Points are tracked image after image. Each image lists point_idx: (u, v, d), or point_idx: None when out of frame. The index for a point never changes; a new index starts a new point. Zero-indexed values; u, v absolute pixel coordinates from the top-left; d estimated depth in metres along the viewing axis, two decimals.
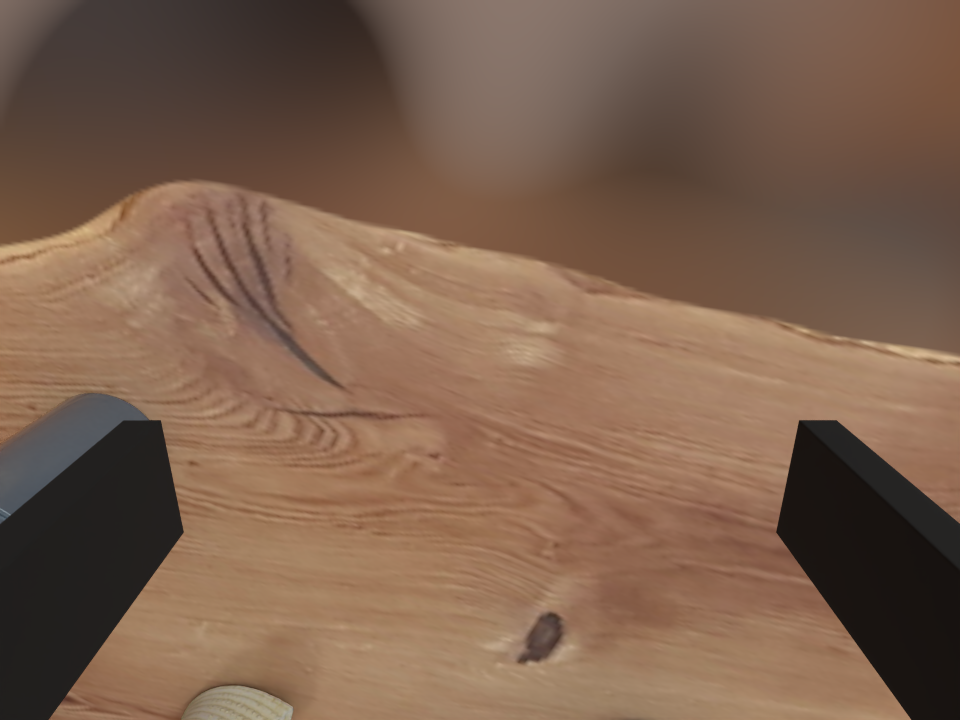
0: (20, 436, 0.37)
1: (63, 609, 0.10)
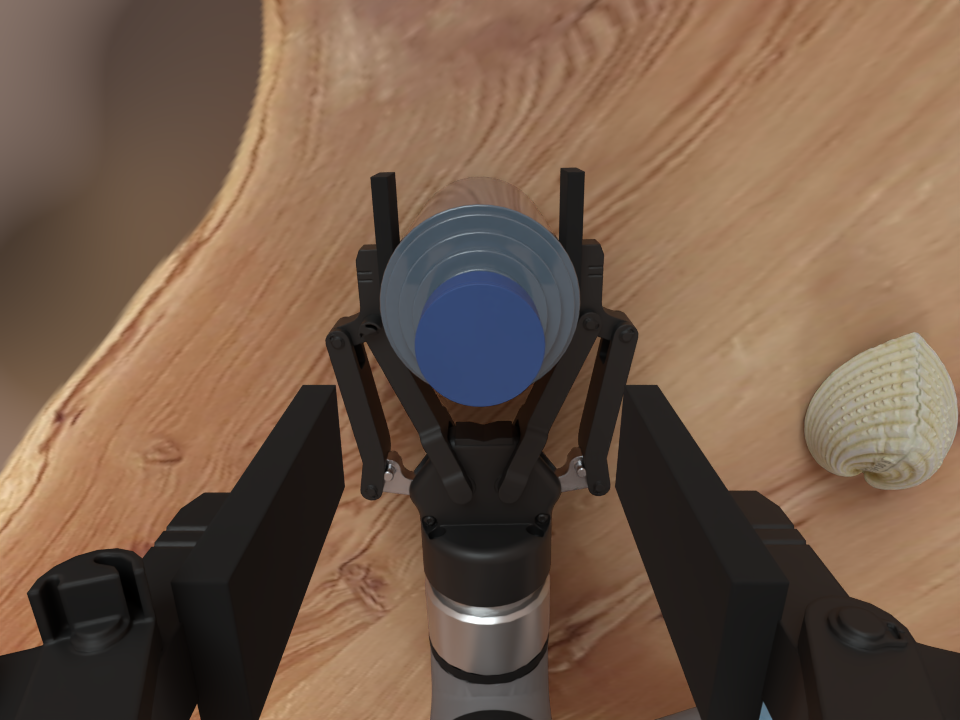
0: None
1: (297, 536, 0.11)
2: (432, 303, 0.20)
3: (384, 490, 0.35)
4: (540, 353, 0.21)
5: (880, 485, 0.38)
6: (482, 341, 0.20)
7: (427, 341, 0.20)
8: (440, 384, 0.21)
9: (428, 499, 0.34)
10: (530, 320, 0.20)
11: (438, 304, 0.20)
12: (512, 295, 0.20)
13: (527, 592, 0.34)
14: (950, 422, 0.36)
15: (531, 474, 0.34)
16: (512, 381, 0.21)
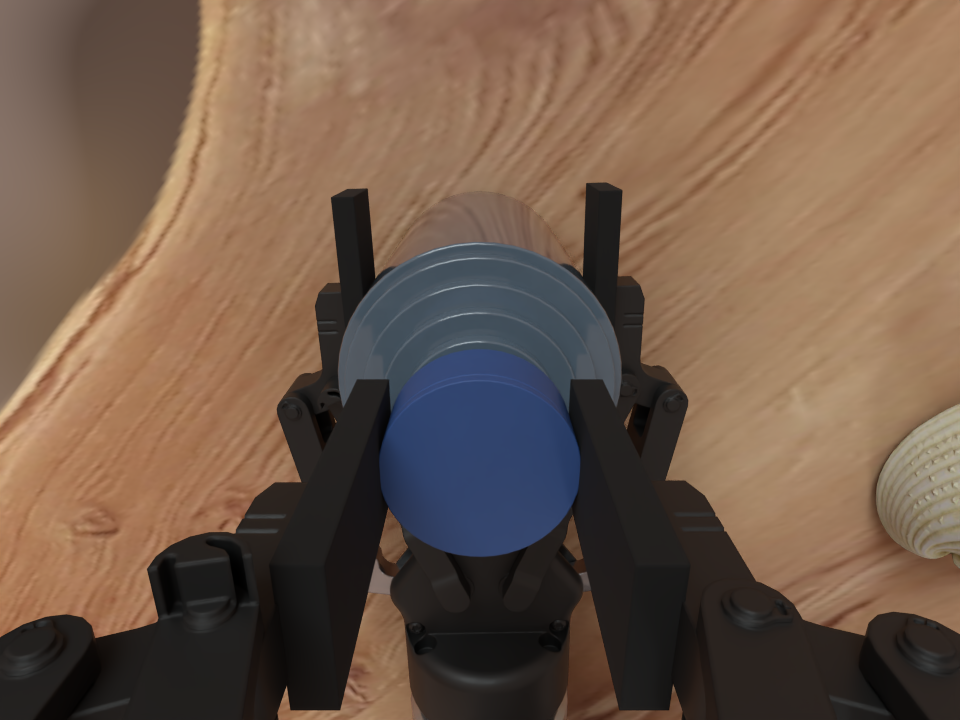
0: None
1: (366, 525, 0.12)
2: (404, 408, 0.13)
3: None
4: (573, 482, 0.13)
5: None
6: (483, 464, 0.13)
7: (397, 464, 0.13)
8: (418, 526, 0.14)
9: (414, 603, 0.27)
10: (559, 434, 0.13)
11: (414, 410, 0.13)
12: (531, 397, 0.13)
13: None
14: None
15: (545, 573, 0.26)
16: (529, 522, 0.14)
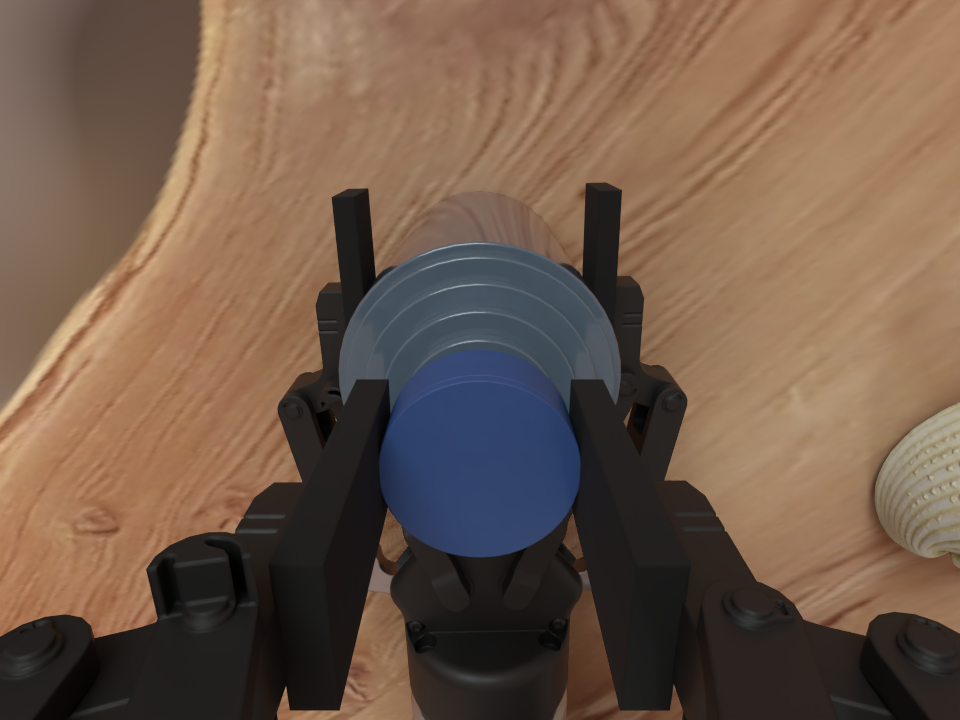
0: None
1: (365, 526, 0.12)
2: (413, 534, 0.14)
3: None
4: (488, 387, 0.12)
5: None
6: (469, 471, 0.13)
7: (471, 542, 0.14)
8: (540, 526, 0.14)
9: (414, 601, 0.27)
10: (431, 405, 0.13)
11: (414, 528, 0.14)
12: (393, 431, 0.13)
13: None
14: None
15: (545, 572, 0.26)
16: (537, 427, 0.13)
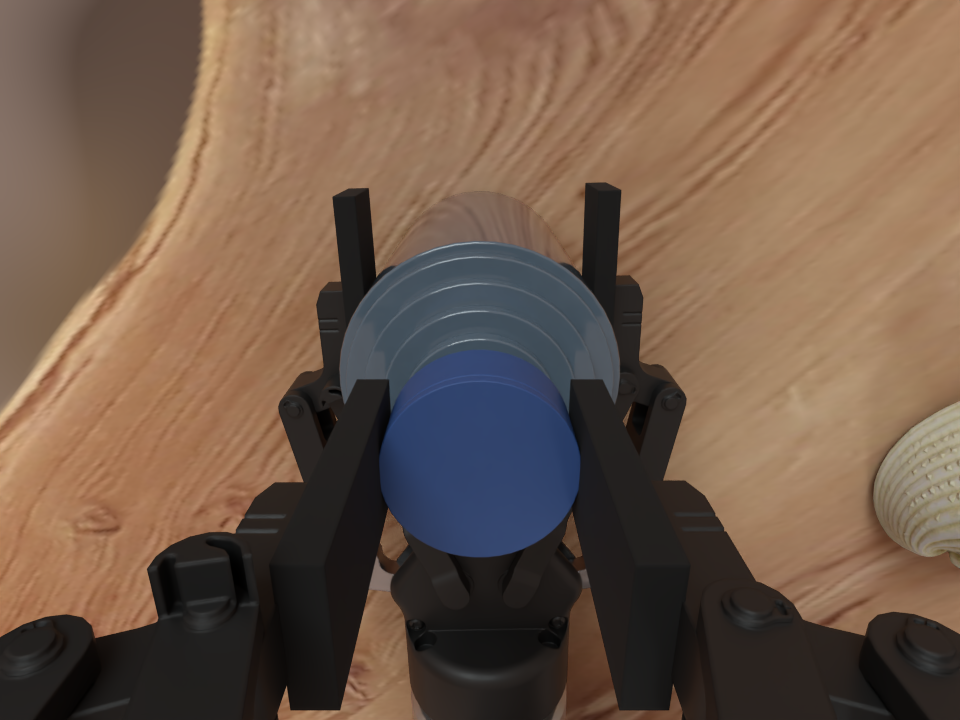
0: None
1: (366, 525, 0.12)
2: (551, 529, 0.14)
3: None
4: (384, 469, 0.13)
5: None
6: (476, 483, 0.13)
7: (561, 479, 0.13)
8: (542, 416, 0.13)
9: (414, 600, 0.27)
10: (406, 514, 0.14)
11: (543, 529, 0.14)
12: (436, 544, 0.14)
13: (539, 718, 0.27)
14: None
15: (544, 570, 0.26)
16: (423, 425, 0.13)
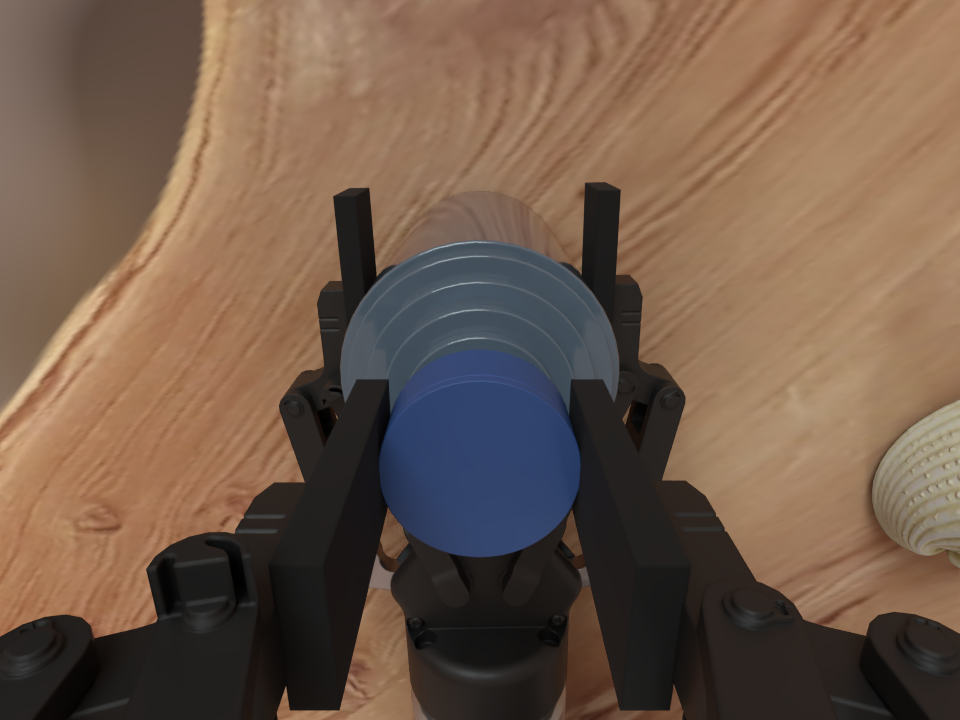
0: None
1: (365, 526, 0.12)
2: (548, 403, 0.13)
3: None
4: (476, 552, 0.14)
5: None
6: (490, 476, 0.13)
7: (484, 399, 0.13)
8: (411, 422, 0.13)
9: (414, 598, 0.27)
10: (527, 536, 0.14)
11: (547, 413, 0.13)
12: (563, 510, 0.14)
13: (539, 716, 0.27)
14: None
15: (544, 568, 0.26)
16: (427, 520, 0.14)
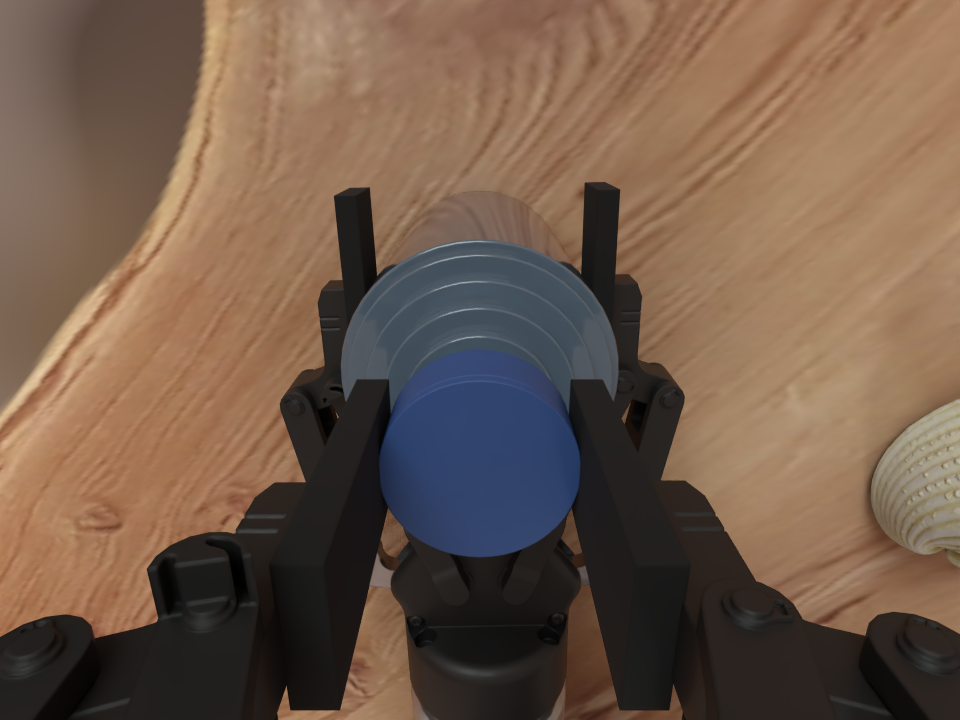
0: None
1: (365, 525, 0.12)
2: (398, 415, 0.13)
3: None
4: (574, 475, 0.13)
5: None
6: (482, 465, 0.13)
7: (397, 471, 0.13)
8: (424, 530, 0.14)
9: (414, 596, 0.27)
10: (554, 428, 0.13)
11: (408, 416, 0.13)
12: (523, 394, 0.13)
13: (538, 714, 0.27)
14: None
15: (544, 567, 0.27)
16: (534, 518, 0.14)
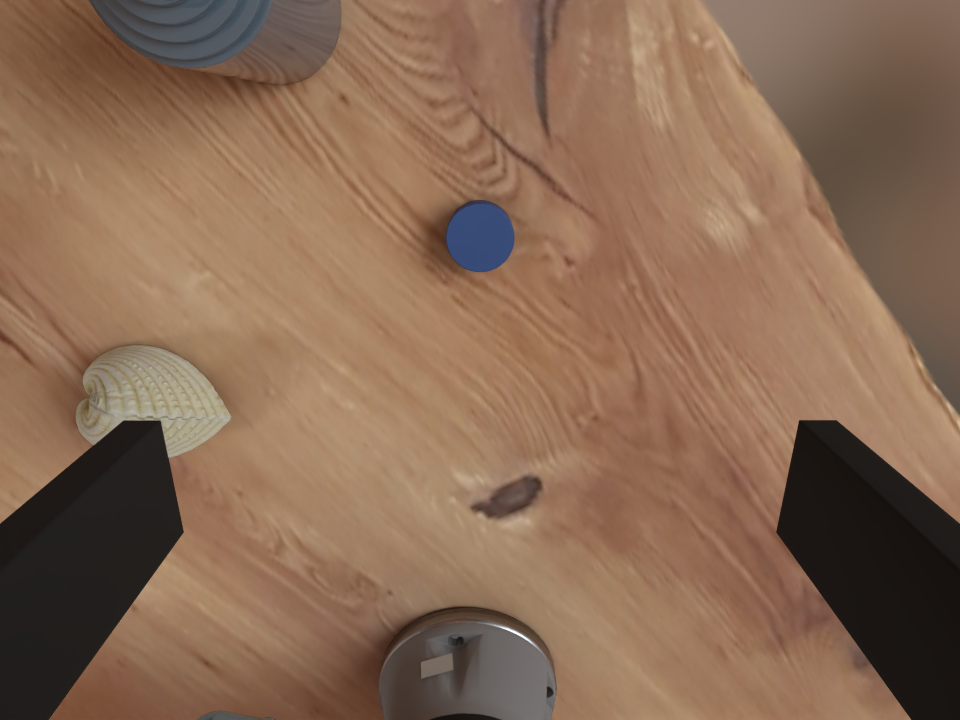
0: None
1: (63, 609, 0.10)
2: (453, 216, 0.39)
3: None
4: (511, 239, 0.39)
5: (78, 410, 0.42)
6: (481, 235, 0.39)
7: (452, 237, 0.39)
8: (461, 260, 0.40)
9: None
10: (504, 221, 0.39)
11: (456, 216, 0.39)
12: (494, 208, 0.39)
13: None
14: None
15: None
16: (498, 255, 0.40)
